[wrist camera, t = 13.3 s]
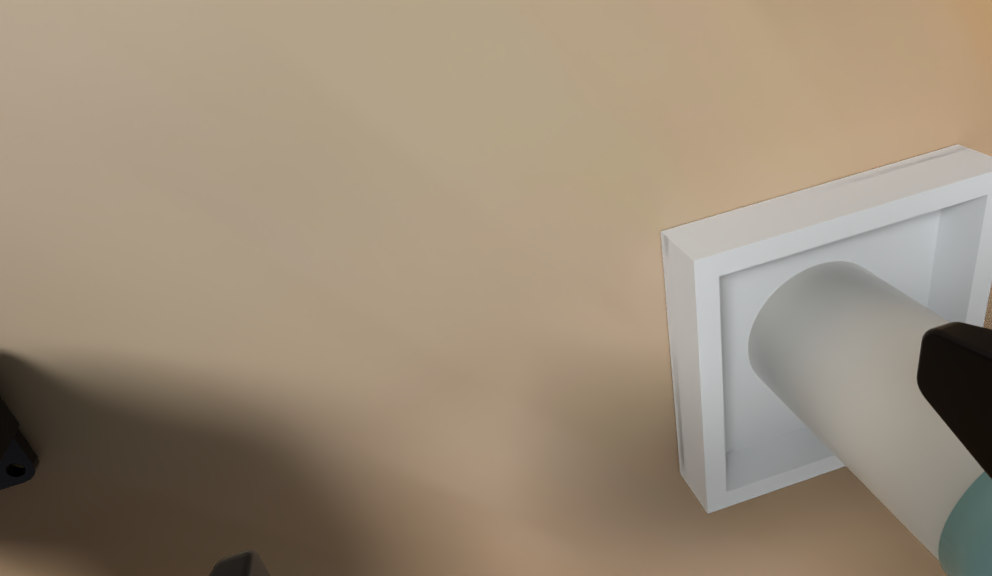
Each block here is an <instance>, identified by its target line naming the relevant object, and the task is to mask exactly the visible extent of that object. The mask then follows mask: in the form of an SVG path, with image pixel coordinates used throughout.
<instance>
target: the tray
mask: <svg viewBox="0 0 992 576" xmlns="http://www.w3.org/2000/svg"><path fill="white" fill-rule="evenodd" d="M661 242H662V255H663V267H664V280H665V292H666V305H667V317H668V330H669V342H670V354H671V367H672V379H673V392H674V404H675V417H676V429H677V442H678V454H679V467H680V474H681V475H682V477H683V478H684V480H685V481H686V483H687V484H688V486H689V487H690V489H691V490H692V492H693V493H694V495H695V496H696V497H697V499H698V500H699V502H700V503H701V505H702V506H703V508H704V509H705V511H706V512H707V514H709V513H712V512H714V511H717V510H720V509H723V508H726V507H729V506H732V505H735V504H738V503H740V502H743V501H746V500H749V499H752V498H755V497H758V496H761V495H763V494H766V493H769V492H772V491H775V490H778V489H781V488H784V487H787V486H789V485H792V484H795V483H798V482H801V481H804V480H807V479H810V478H813V477H815V476H818V475H821V474H824V473H827V472H830V471H833V470H836V469H839V468H841V467H844V466H845V465H844V464H843V463H842V462H841V461H840V460H839V459H838V458H837V457H836V456H835V455H834V454H833V452H832V451H831V450H830V449H829V448H828V447H827V446H826V445H825V444H824V443H823V442H822V441H821V440H820V439H819V438H818V437H817V436H816V435H815V434H814V433H813V432H812V431H811V430H810V429H809V428H808V427H807V426H806V425H805V424H804V423H803V422H802V421H801V420H800V419H799V418H798V417H797V416H796V415H795V414H794V413H793V412H792V411H791V410H790V409H789V408H788V407H787V406H786V405H785V404H784V403H783V402H782V401H781V400H780V398H779V397H778V396H777V395H776V394H775V393H774V392H773V391H772V390H771V389H770V388H769V387H768V386H767V385H766V384H765V383H764V382H763V381H762V380H761V379H760V378H759V377H758V376H757V375H756V373H755V372H754V370H753V368H752V366H751V364H750V361H749V355H748V341H749V336H750V332H751V329H752V326H753V323H754V321H755V319H756V317H757V315H758V313H759V311H760V310H761V308H762V307H763V305H764V304H765V302H766V301H767V300H768V299H769V297H770V296H771V295H772V294H773V293H774V292H775V291H776V290H777V289H778V288H779V287H780V286H781V285H782V284H784V283H785V282H786V281H787V280H789V279H790V278H792V277H793V276H795V275H796V274H798V273H800V272H802V271H804V270H805V269H808V268H810V267H813V266H815V265H818V264H822V263H826V262H833V261H845V262H851V263H854V264H858V265H860V266H862V267H863V268H865V269H867V270H868V271H870V272H871V273H873V274H875V275H876V276H878V277H879V278H881V279H882V280H884V281H886V282H887V283H889V284H890V285H892V286H893V287H895V288H897V289H898V290H900V291H901V292H903V293H904V294H906V295H907V296H909V297H911V298H912V299H914V300H915V301H917V302H918V303H920V304H922V305H923V306H925V307H926V308H928V309H929V310H931V311H933V312H934V313H936V314H937V315H939V316H940V317H942V318H944V319H945V320H947V321H948V322H963V323H967V324H971V325H975V326H979V327H983V325H984V319H985V314H986V309H987V304H988V299H989V293H990V288H991V283H992V157H991V156H989V155H986V154H983V153H980V152H977V151H975V150H972V149H969V148H966V147H964V146H961V145H958V144H957V145H954V146H950V147H947V148H943V149H940V150H937V151H933V152H930V153H926V154H923V155H920V156H916V157H913V158H909V159H906V160H903V161H899V162H896V163H892V164H889V165H886V166H882V167H879V168H875V169H872V170H869V171H865V172H862V173H858V174H855V175H851V176H848V177H845V178H841V179H838V180H834V181H831V182H828V183H824V184H821V185H817V186H814V187H811V188H807V189H804V190H800V191H797V192H794V193H790V194H787V195H783V196H780V197H777V198H773V199H770V200H766V201H763V202H760V203H756V204H753V205H749V206H746V207H742V208H739V209H736V210H732V211H729V212H725V213H722V214H719V215H715V216H712V217H708V218H705V219H702V220H698V221H695V222H691V223H688V224H685V225H681V226H678V227H674V228H671V229H668V230H664V231H661Z"/></svg>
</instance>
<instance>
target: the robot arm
mask: <svg viewBox="0 0 992 576" xmlns="http://www.w3.org/2000/svg"><path fill="white" fill-rule="evenodd" d="M917 384H918V387H919V390H920V391H921V393H922V395H923V396H924V398H925V399H926V400H927V401H928V403H929V404H930V405H931V406H932V408H933V409H934V410H935V411H936V412H937V414H938V415H939V416H940V417H941V419H942V420H943V421H944V422H945V423H946V425H947V426H948V427H949V428H950V430H951V431H952V432H953V433H954V434H955V436H956V437H957V438H958V439H959V441H960V442H961V443H962V444H963V445H964V447H965V448H966V449H967V450H968V452H969V453H970V454H971V455H972V456H973V458H974V459H975V460H976V461H977V463H978V464H979V465H980V466H981V467H982V469H983V470H984V471H985V472H986V473H987V475H988V476H989V477H990V478H991V479H992V329H987V328H983V327H979V326H975V325H971V324H967V323H963V322H950V323H947V324H944V325H940V326H937V327H934V328H931V329H929V330H927V331H926V332H925V334H924V335H923V337H922V341H921V348H920V355H919V362H918V369H917ZM18 428H19V423H18V421H17V420H16V418H15V417H14V415H13V414H12V413H11V411H10V410H9V408H8V407H7V405H6V404H5V403H4V401H3V400H2V398H1V397H0V490H1V489H4V488H7V487H11V486H14V485H17V484H20V483H24V482H26V481H28V480H30V479H31V478H32V477H33V476H34V474H35V472H36V470H37V468H38V465H39V459H38V456H37V455H36V453H35V452H34V450H33V449H32V448H31V446H30V445H29V443H28V442H27V440H26V439H25V438H24V436H23V435H22V433H21V432H20V430H19V429H18ZM14 463H17V464H21V465H22V466H24V467H23V468H18V467H14V466H13V465H12V464H14ZM209 576H270V574H269V572H268V571H267V569H266V567H265V565H264V563H263V561H262V559H261V557H260V556H259V554H258V553H257V552H255V551H254V550H247V551H244V552H241V553H237V554H234V555H231V556H228V557H225V558H223V559H221V560H220V561H219V562H218V563H217V564H216V565H215V567H214V568H213V570H212V572H211V573H210V575H209Z"/></svg>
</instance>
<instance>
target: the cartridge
mask: <svg viewBox="0 0 992 576" xmlns="http://www.w3.org/2000/svg"><path fill="white" fill-rule="evenodd" d="M947 323H950V322H948V321H947V320H945V319H944V318H942V317H940V316H939V315H937V314H936V313H934V312H933V311H931V310H929V309H928V308H926V307H925V306H923V305H922V304H920V303H918V302H917V301H915V300H914V299H912V298H911V297H909V296H907V295H906V294H904V293H903V292H901V291H900V290H898V289H897V288H895V287H893V286H892V285H890V284H889V283H887V282H886V281H884V280H882V279H881V278H879V277H878V276H876V275H875V274H873V273H871V272H870V271H868V270H867V269H865V268H863V267H862V266H860V265H858V264H854V263H851V262H845V261H833V262H826V263H822V264H818V265H815V266H813V267H810V268H808V269H805V270H804V271H802V272H800V273H798V274H796V275H795V276H793V277H792V278H790V279H789V280H787V281H786V282H785V283H784V284H782V285H781V286H780V287H779V288H778V289H777V290H776V291H775V292H774V293H773V294H772V295H771V296H770V297H769V299H768V300H767V301H766V302H765V304H764V305H763V307H762V308H761V310H760V311H759V313H758V315H757V317H756V319H755V321H754V323H753V326H752V329H751V332H750V336H749V341H748V355H749V361H750V364H751V366H752V368H753V370H754V372H755V373H756V375H757V376H758V377H759V378H760V379H761V380H762V381H763V382H764V383H765V384H766V385H767V386H768V387H769V388H770V389H771V390H772V391H773V392H774V393H775V394H776V395H777V396H778V397H779V398H780V400H781V401H782V402H783V403H784V404H785V405H786V406H787V407H788V408H789V409H790V410H791V411H792V412H793V413H794V414H795V415H796V416H797V417H798V418H799V419H800V420H801V421H802V422H803V423H804V424H805V425H806V426H807V427H808V428H809V429H810V430H811V431H812V432H813V433H814V434H815V435H816V436H817V437H818V438H819V439H820V440H821V441H822V442H823V443H824V444H825V445H826V446H827V447H828V448H829V449H830V450H831V451H832V452H833V454H834V455H835V456H836V457H837V458H838V459H839V460H840V461H841V462H842V463H843V464H844V465H845V466H846V467H847V468H848V469H849V470H850V471H851V472H852V473H853V474H854V475H855V476H856V477H857V478H858V479H859V480H860V481H861V482H862V483H863V484H864V485H865V486H866V487H867V488H868V489H869V490H870V491H871V492H872V493H873V494H874V495H875V496H876V497H877V498H878V499H879V500H880V501H881V502H882V503H883V504H884V505H885V506H886V508H887V509H888V510H889V511H890V512H891V513H892V514H893V515H894V516H895V517H896V518H897V519H898V520H899V521H900V522H901V523H902V524H903V525H904V526H905V527H906V528H907V529H908V530H909V531H910V532H911V533H912V534H913V535H914V536H915V537H916V538H917V539H918V540H919V541H920V542H921V543H922V544H923V545H924V546H925V547H926V548H927V549H928V550H929V551H930V552H931V553H932V554H933V555H934V556H935V557H936V558H937V559H938V560H939V562H940V564H941V567H942V569H943V570H944V571H945V573H946V574H947V575H948V576H992V479H991V478H990V477H989V476H988V475H987V473H986V472H985V471H984V470H983V469H982V467H981V466H980V465H979V464H978V463H977V461H976V460H975V459H974V458H973V456H972V455H971V454H970V453H969V452H968V450H967V449H966V448H965V447H964V445H963V444H962V443H961V442H960V441H959V439H958V438H957V437H956V436H955V434H954V433H953V432H952V431H951V430H950V428H949V427H948V426H947V425H946V423H945V422H944V421H943V420H942V419H941V417H940V416H939V415H938V414H937V412H936V411H935V410H934V409H933V408H932V406H931V405H930V404H929V403H928V401H927V400H926V399H925V398H924V396H923V395H922V393H921V391H920V390H919V387H918V384H917V369H918V362H919V355H920V348H921V341H922V337H923V335H924V334H925V332H926V331H927V330H929V329H931V328H934V327H937V326H940V325H944V324H947Z"/></svg>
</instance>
